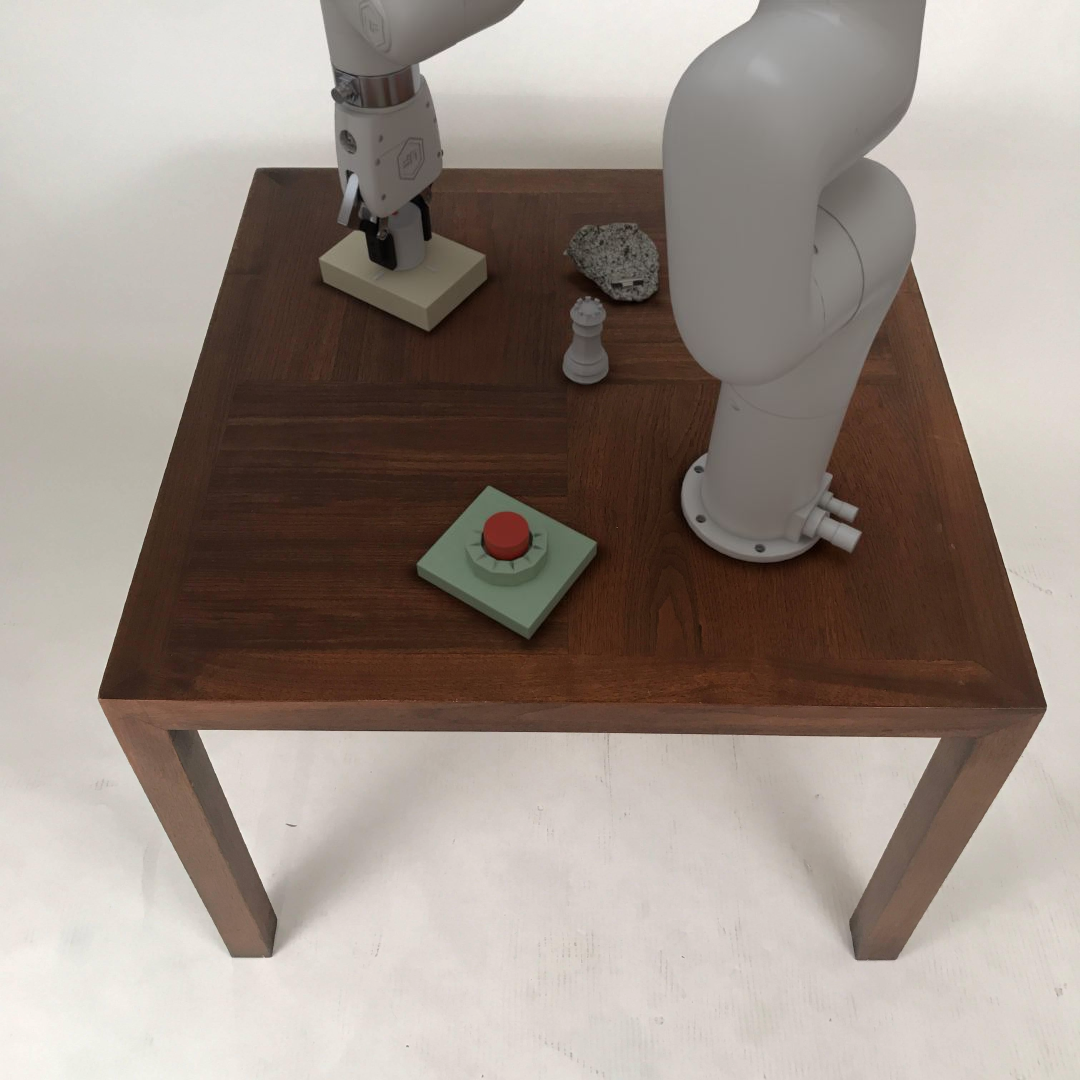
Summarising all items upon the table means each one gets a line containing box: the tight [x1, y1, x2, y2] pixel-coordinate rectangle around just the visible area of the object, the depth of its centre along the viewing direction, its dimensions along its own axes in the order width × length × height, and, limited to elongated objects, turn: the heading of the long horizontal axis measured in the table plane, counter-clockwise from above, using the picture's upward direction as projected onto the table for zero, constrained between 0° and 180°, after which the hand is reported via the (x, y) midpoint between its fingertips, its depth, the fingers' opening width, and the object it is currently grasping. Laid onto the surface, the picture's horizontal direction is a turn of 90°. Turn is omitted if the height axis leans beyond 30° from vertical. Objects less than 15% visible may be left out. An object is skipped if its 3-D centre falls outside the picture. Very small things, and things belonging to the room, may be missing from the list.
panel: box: [318, 216, 488, 332], centre depth 102 cm, size 14×10×3 cm
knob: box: [371, 201, 426, 271], centre depth 99 cm, size 5×5×5 cm
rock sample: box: [563, 221, 661, 303], centre depth 101 cm, size 10×8×9 cm
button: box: [483, 511, 529, 560], centre depth 78 cm, size 4×4×2 cm
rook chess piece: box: [562, 295, 609, 385], centre depth 92 cm, size 4×4×8 cm
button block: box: [416, 485, 598, 640], centre depth 80 cm, size 11×10×4 cm
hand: (401, 248), depth 100 cm, fingers closed on knob, 4 cm apart
